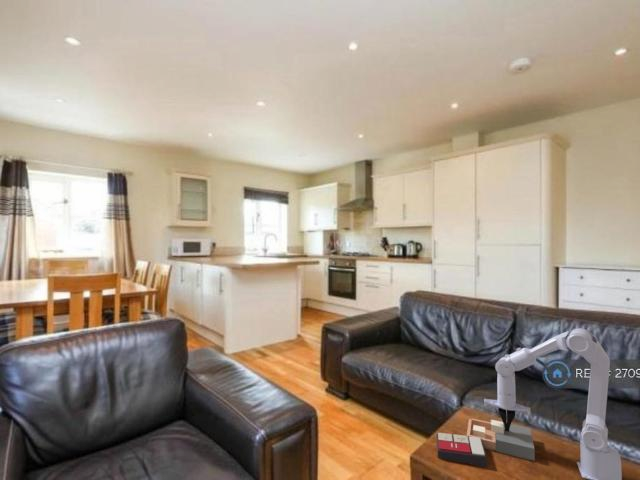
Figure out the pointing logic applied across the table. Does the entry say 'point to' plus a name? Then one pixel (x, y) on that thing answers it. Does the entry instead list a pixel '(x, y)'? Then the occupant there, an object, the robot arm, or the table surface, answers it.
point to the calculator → (461, 449)
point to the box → (489, 439)
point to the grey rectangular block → (516, 442)
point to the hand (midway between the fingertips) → (506, 429)
